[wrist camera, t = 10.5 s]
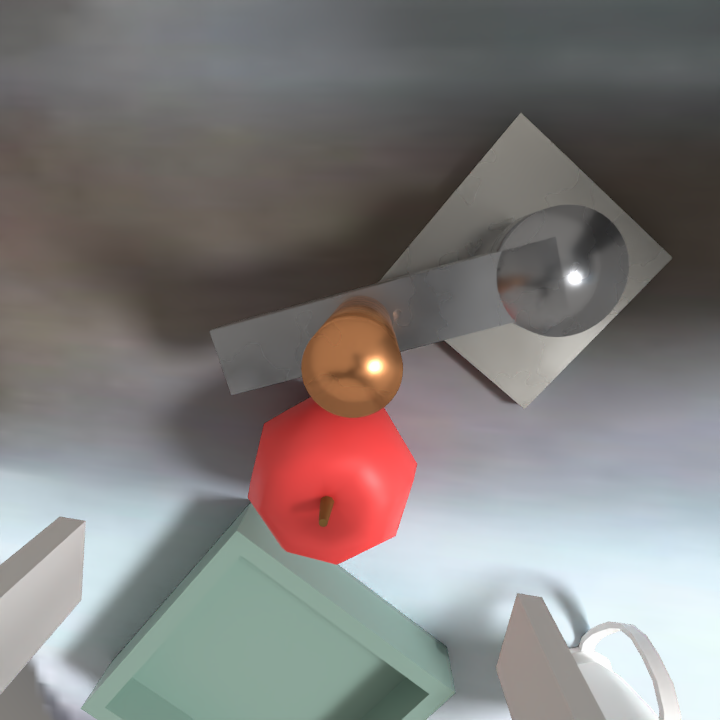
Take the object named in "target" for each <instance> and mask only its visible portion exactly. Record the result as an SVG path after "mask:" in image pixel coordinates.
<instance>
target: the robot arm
mask: <svg viewBox="0 0 720 720" xmlns="http://www.w3.org/2000/svg"><path fill="white" fill-rule="evenodd" d="M85 522H86V521H83V520H77V519H71V518H65V517H59V518H58V519H56V520H55V521H54V522H53V523H51V524H50V525H49V526H48V527H47V528H45V529H44V530H43V531H42V532H40V533H39V534H38V535H37V536H36V537H34V538H33V539H32V540H31V541H29V542H28V543H27V544H26V545H24V546H23V547H22V548H21V549H20V550H18V551H17V552H16V553H15V554H13V555H12V556H11V557H10V558H9V559H7V560H6V561H5V562H4V563H2V564H1V565H0V694H1V693H2V692H3V691H4V690H5V688H6V687H7V686H8V685H9V684H10V683H11V681H12V680H13V679H14V678H15V677H16V676H17V674H18V673H19V672H20V671H21V670H22V669H23V667H24V666H25V665H26V664H27V663H28V662H29V660H30V659H31V658H32V657H33V656H34V655H35V653H36V652H37V651H38V650H39V649H40V648H41V646H42V645H43V644H44V643H45V642H46V641H47V639H48V638H49V637H50V636H51V635H52V634H53V632H54V631H55V630H56V629H57V628H58V627H59V625H60V624H61V623H62V622H63V621H64V620H65V618H66V617H67V616H68V615H69V614H70V613H71V611H72V610H73V609H74V608H75V607H76V606H77V604H78V603H79V602H80V601H81V596H82V577H83V559H84V541H85ZM496 670H497V674H498V677H499V680H500V683H501V686H502V689H503V693H504V696H505V699H506V702H507V705H508V708H509V711H510V715H511V718H512V720H606V719H605V717H604V715H603V713H602V711H601V709H600V707H599V705H598V703H597V702H596V700H595V698H594V696H593V694H592V692H591V690H590V688H589V686H588V684H587V682H586V681H585V679H584V677H583V675H582V673H581V671H580V669H579V667H578V665H577V663H576V661H575V660H574V658H573V656H572V654H571V652H570V650H569V648H568V646H567V644H566V642H565V640H564V639H563V637H562V635H561V633H560V631H559V629H558V627H557V625H556V623H555V621H554V620H553V618H552V616H551V614H550V612H549V610H548V608H547V606H546V604H545V602H544V600H543V599H542V597H537V596H531V595H525V594H519V593H517V596H516V599H515V603H514V606H513V610H512V613H511V617H510V620H509V624H508V627H507V631H506V634H505V638H504V641H503V644H502V648H501V651H500V655H499V658H498V662H497V665H496Z"/></svg>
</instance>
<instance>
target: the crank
mask: <svg viewBox="0 0 720 720" xmlns="http://www.w3.org/2000/svg"><path fill="white" fill-rule="evenodd" d="M628 273H629V256H628V251H627V247H626V244H625V241H624V239H623V237H622V235H621V233H620V231H619V230H618V229H617V227H616V226H615V225H614V224H613V223H612V222H611V221H610V220H609V219H608V218H607V217H606V216H604V215H603V214H601V213H599V212H598V211H596V210H594V209H591V208H588V207H585V206H580V205H569V204H568V205H558V206H553V207H549V208H546V209H543V210H540V211H537V212H533V213H530V214H528V215H525V216H523V217H521V218H519V219H517V220H515V221H514V222H512V223H511V224H510V225H508V226H507V227H506V228H505V229H504V230H503V231H502V232H501V233H500V234H499V235H498V237H497V238H496V240H495V241H494V243H493V244H492V246H491V248H490V250H489V252H488V253H485V254H481V255H478V256H474V257H470V258H467V259H463V260H459V261H456V262H452V263H448V264H445V265H441V266H437V267H434V268H430V269H426V270H423V271H419V272H415V273H412V274H408V275H404V276H401V277H397V278H393V279H390V280H386V281H382V282H379V283H375V284H371V285H368V286H364V287H360V288H357V289H353V290H349V291H346V292H342V293H338V294H335V295H331V296H327V297H324V298H320V299H316V300H313V301H309V302H305V303H302V304H298V305H294V306H291V307H287V308H283V309H280V310H276V311H273V312H269V313H265V314H262V315H258V316H254V317H251V318H247V319H243V320H240V321H236V322H232V323H229V324H225V325H223V326H220V327H218V328H215V329H213V330H210V331H209V332H210V335H211V338H212V340H213V343H214V346H215V349H216V352H217V355H218V358H219V361H220V364H221V367H222V370H223V373H224V376H225V378H226V381H227V384H228V387H229V390H230V393H231V395H234V394H238V393H242V392H246V391H250V390H254V389H257V388H261V387H265V386H269V385H273V384H277V383H281V382H285V381H288V380H292V379H296V378H300V377H302V378H303V382H304V385H305V387H306V389H307V391H308V393H309V395H310V396H311V397H312V399H313V400H314V401H315V402H316V403H317V404H318V405H319V406H320V407H322V408H323V409H325V410H326V411H328V412H330V413H332V414H334V415H338V416H341V417H347V418H359V417H364V416H368V415H371V414H373V413H375V412H377V411H379V410H381V409H382V408H384V407H385V406H386V405H387V404H388V403H389V402H390V401H391V400H392V399H393V397H394V396H395V395H396V393H397V391H398V389H399V386H400V384H401V380H402V374H403V363H402V358H401V354H400V352H401V351H405V350H408V349H412V348H416V347H420V346H424V345H428V344H432V343H435V342H439V341H443V340H447V339H451V338H455V337H459V336H463V335H466V334H470V333H474V332H478V331H482V330H486V329H490V328H493V327H497V326H501V325H505V324H509V323H513V324H515V325H517V326H519V327H521V328H524V329H526V330H528V331H530V332H533V333H536V334H539V335H543V336H548V337H566V336H571V335H575V334H578V333H581V332H584V331H586V330H588V329H590V328H592V327H593V326H595V325H597V324H598V323H599V322H600V321H602V320H603V319H604V318H605V317H606V316H607V315H608V314H609V313H610V312H611V311H612V310H613V308H614V307H615V306H616V304H617V303H618V301H619V300H620V298H621V296H622V294H623V292H624V289H625V286H626V283H627V279H628Z"/></svg>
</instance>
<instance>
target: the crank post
mask: <svg viewBox="0 0 720 720" xmlns="http://www.w3.org/2000/svg"><path fill="white" fill-rule="evenodd" d="M568 204H569V205H580V206H585V207H588V208H591V209H594V210H596V211H598V212H599V213H601V214H603V215H604V216H606V217H607V218H608V219H609V220H610V221H611V222H612V223H613V224H614V225H615V226H616V227H617V229H618V230H619V231H620V233H621V235H622V237H623V239H624V241H625V244H626V247H627V251H628V256H629V273H628V279H627V283H626V286H625V289H624V292H623V294H622V296H621V298H620V300H619V301H618V303H617V304H616V306H615V307H614V308H613V310H612V311H611V312H610V313H609V314H608V315H607V316H606V317H605V318H604V319H603V320H602V321H600V322H599V323H598V324H597V325H595V326H593V327H592V328H590V329H588V330H586V331H584V332H581V333H578V334H575V335H571V336H566V337H548V336H543V335H539V334H536V333H533V332H530V331H528V330H526V329H524V328H521V327H519V326H517V325H515V324H513V323H509V324H505V325H501V326H497V327H493V328H490V329H486V330H482V331H478V332H474V333H470V334H466V335H463V336H459V337H455V338H451V339H447V340H444V341H446V342H447V343H448V344H449V345H450V346H451V347H453V348H454V349H455V350H456V351H457V352H458V353H460V354H461V355H462V356H463V357H464V358H465V359H467V360H468V361H469V362H470V363H471V364H472V365H474V366H475V367H476V368H477V369H478V370H479V371H481V372H482V373H483V374H484V375H485V376H486V377H488V378H489V379H490V380H491V381H492V382H493V383H495V384H496V385H497V386H498V387H499V388H500V389H502V390H503V391H504V392H505V393H506V394H507V395H509V396H510V397H511V398H512V399H513V400H514V401H516V402H517V403H518V404H519V405H520V406H521V407H523V408H524V409H525V408H526V407H527V406H528V405H529V404H530V403H531V402H532V401H533V400H534V399H535V398H536V397H537V396H538V395H539V394H540V393H541V392H542V391H543V390H544V389H545V388H546V387H547V386H548V385H549V384H550V383H551V382H552V381H553V380H554V379H555V378H556V377H557V376H558V375H559V374H560V372H561V371H562V370H563V369H564V368H565V367H566V366H567V365H568V364H569V363H570V362H571V361H572V360H573V359H574V358H575V357H576V356H577V355H578V354H579V353H580V352H581V351H582V350H583V349H584V348H585V347H586V346H587V345H588V344H589V343H590V342H591V341H592V340H593V339H594V338H595V337H596V336H597V335H598V334H599V333H600V332H601V331H602V330H603V329H604V328H605V327H606V325H607V324H608V323H609V322H610V321H611V320H612V319H613V318H614V317H615V316H616V315H617V314H618V313H619V312H620V311H621V310H622V309H623V308H624V307H625V306H626V305H627V304H628V303H629V302H630V301H631V300H632V299H633V298H634V297H635V296H636V295H637V294H638V293H639V292H640V291H641V290H642V289H643V288H644V287H645V286H646V285H647V284H648V283H649V282H650V281H651V279H652V278H653V277H654V276H655V275H656V274H657V273H658V272H659V271H660V270H661V269H662V268H663V267H664V266H665V265H666V264H667V263H668V262H669V261H670V260H671V259H672V257H671V256H670V255H669V254H668V253H667V252H666V251H665V250H664V249H663V248H662V247H661V246H660V245H659V244H658V243H657V242H656V241H655V240H654V239H653V238H652V237H650V236H649V235H648V234H647V233H646V232H645V231H644V230H643V229H642V228H641V227H640V226H639V225H638V224H637V223H636V222H635V221H634V220H633V219H632V218H631V217H630V216H629V215H627V214H626V213H625V212H624V211H623V210H622V209H621V208H620V207H619V206H618V205H617V204H616V203H615V202H614V201H613V200H612V199H611V198H610V197H609V196H608V195H607V194H606V193H604V192H603V191H602V190H601V189H600V188H599V187H598V186H597V185H596V184H595V183H594V182H593V181H592V180H591V179H590V178H589V177H588V176H587V175H586V174H585V173H584V172H583V171H582V170H580V169H579V168H578V167H577V166H576V165H575V164H574V163H573V162H572V161H571V160H570V159H569V158H568V157H567V156H566V155H565V154H564V153H563V152H562V151H561V150H560V149H559V148H557V147H556V146H555V145H554V144H553V143H552V142H551V141H550V140H549V139H548V138H547V137H546V136H545V135H544V134H543V133H542V132H541V131H540V130H539V129H538V128H537V127H536V126H534V125H533V124H532V123H531V122H530V121H529V120H528V119H527V118H526V117H525V116H524V115H523V114H522V113H520V114H519V115H518V116H517V117H516V118H515V119H514V121H513V122H512V123H511V124H510V125H509V127H508V128H507V129H506V130H505V131H504V133H503V134H502V135H501V136H500V137H499V139H498V140H497V141H496V142H495V143H494V145H493V146H492V147H491V148H490V149H489V151H488V152H487V153H486V154H485V155H484V157H483V158H482V159H481V160H480V161H479V162H478V164H477V165H476V166H475V167H474V168H473V170H472V171H471V172H470V173H469V174H468V176H467V177H466V178H465V179H464V180H463V182H462V183H461V184H460V185H459V186H458V188H457V189H456V190H455V191H454V192H453V194H452V195H451V196H450V197H449V198H448V199H447V201H446V202H445V203H444V204H443V205H442V207H441V208H440V209H439V210H438V211H437V213H436V214H435V215H434V216H433V217H432V219H431V220H430V221H429V222H428V223H427V225H426V226H425V227H424V228H423V229H422V231H421V232H420V233H419V234H418V235H417V237H416V238H415V239H414V240H413V241H412V242H411V244H410V245H409V246H408V247H407V248H406V250H405V251H404V252H403V253H402V254H401V256H400V257H399V258H398V259H397V260H396V262H395V263H394V264H393V265H392V266H391V268H390V269H389V270H388V271H387V272H386V274H385V275H384V276H383V277H382V278H381V279H380V281H379V282H382V281H386V280H390V279H393V278H397V277H401V276H404V275H408V274H412V273H415V272H419V271H423V270H426V269H430V268H434V267H437V266H441V265H445V264H448V263H452V262H456V261H459V260H463V259H467V258H470V257H474V256H478V255H481V254H485V253H488V252H489V250H490V248H491V246H492V244H493V243H494V241H495V240H496V238H497V237H498V235H499V234H500V233H501V232H502V231H503V230H504V229H505V228H506V227H507V226H508V225H510V224H511V223H512V222H514V221H515V220H517V219H519V218H521V217H523V216H525V215H528V214H530V213H533V212H537V211H540V210H543V209H546V208H549V207H553V206H558V205H568ZM379 282H378V283H379Z"/></svg>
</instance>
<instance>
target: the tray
mask: <svg viewBox="0 0 720 720" xmlns="http://www.w3.org/2000/svg"><path fill="white" fill-rule="evenodd" d="M454 694H455V688H454V683H453V677H452V672H451V667H450V661H449V656H448V651H447V647H446V646H445V645H443V644H442V643H441V642H439V641H438V640H437V639H435V638H434V637H433V636H431V635H430V634H429V633H427V632H426V631H425V630H423V629H422V628H421V627H419V626H418V625H417V624H415V623H414V622H413V621H411V620H410V619H409V618H407V617H406V616H405V615H404V614H402V613H401V612H400V611H398V610H397V609H396V608H394V607H393V606H392V605H390V604H389V603H388V602H386V601H385V600H384V599H382V598H381V597H380V596H378V595H377V594H376V593H374V592H373V591H372V590H370V589H369V588H368V587H366V586H365V585H364V584H363V583H361V582H360V581H359V580H357V579H356V578H355V577H353V576H352V575H351V574H349V573H348V572H347V571H345V570H344V569H343V568H341V567H340V566H339V565H336V564H332V563H328V562H324V561H320V560H316V559H312V558H309V557H305V556H301V555H297V554H293V553H289V552H286V551H285V550H284V549H283V548H282V547H281V546H280V544H279V543H278V542H277V540H276V539H275V537H274V536H273V534H272V533H271V531H270V530H269V528H268V527H267V525H266V524H265V522H264V521H263V519H262V518H261V516H260V515H259V514H258V512H257V511H256V509H255V508H254V506H253V505H252V503H250V504H249V505H248V506H247V507H246V508H245V509H244V511H243V512H242V513H241V514H240V515H239V516H238V518H237V519H236V520H235V521H234V522H233V523H232V524H231V526H230V527H229V528H228V529H227V530H226V531H225V532H224V534H223V535H222V536H221V537H220V538H219V539H218V540H217V542H216V543H215V544H214V545H213V546H212V547H211V549H210V550H209V551H208V552H207V553H206V554H205V555H204V557H203V558H202V559H201V560H200V561H199V562H198V563H197V565H196V566H195V567H194V568H193V569H192V570H191V571H190V573H189V574H188V575H187V576H186V577H185V578H184V580H183V581H182V582H181V583H180V584H179V585H178V586H177V588H176V589H175V590H174V591H173V592H172V593H171V594H170V596H169V597H168V598H167V599H166V600H165V601H164V602H163V604H162V605H161V606H160V607H159V608H158V609H157V611H156V612H155V613H154V614H153V615H152V616H151V617H150V619H149V620H148V621H147V622H146V623H145V624H144V625H143V627H142V628H141V629H140V630H139V631H138V632H137V633H136V635H135V636H134V637H133V638H132V639H131V640H130V642H129V643H128V644H127V645H126V646H125V647H124V648H123V650H122V651H121V652H120V653H119V654H118V655H117V656H116V658H115V659H114V660H113V661H112V662H111V664H110V665H109V667H108V668H107V670H106V671H105V673H104V674H103V676H102V677H101V679H100V680H99V682H98V683H97V685H96V686H95V688H94V689H93V691H92V692H91V694H90V695H89V697H88V698H87V700H86V701H85V703H84V704H83V706H82V707H81V709H82V710H84V711H85V712H87V713H88V714H90V715H91V716H93V717H94V718H96V719H97V720H426V719H427V718H428V717H429V716H431V715H432V714H433V713H434V712H435V711H436V710H437V709H438V708H439V707H441V706H442V705H443V704H444V703H445V702H446V701H447V700H448V699H450V698H451V697H452V696H453V695H454Z"/></svg>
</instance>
